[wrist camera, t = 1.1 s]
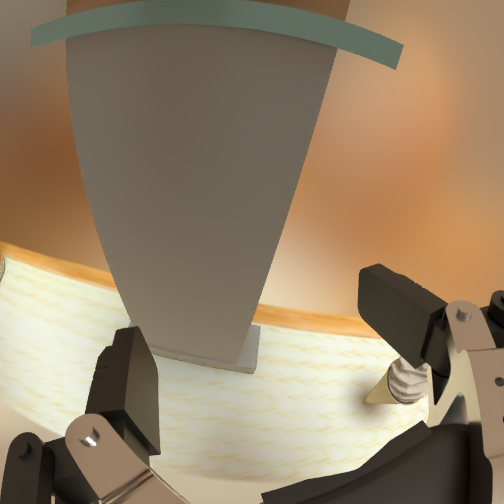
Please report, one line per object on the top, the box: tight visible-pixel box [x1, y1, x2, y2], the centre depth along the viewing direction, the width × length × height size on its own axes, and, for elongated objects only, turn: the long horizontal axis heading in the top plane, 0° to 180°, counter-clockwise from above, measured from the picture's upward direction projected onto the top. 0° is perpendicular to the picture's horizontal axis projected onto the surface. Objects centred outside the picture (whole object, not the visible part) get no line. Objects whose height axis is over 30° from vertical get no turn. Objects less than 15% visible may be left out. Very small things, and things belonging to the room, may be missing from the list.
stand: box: [31, 0, 403, 374], centre depth 18 cm, size 14×5×30 cm, turn 84°
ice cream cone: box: [365, 356, 429, 405], centre depth 21 cm, size 5×5×15 cm
